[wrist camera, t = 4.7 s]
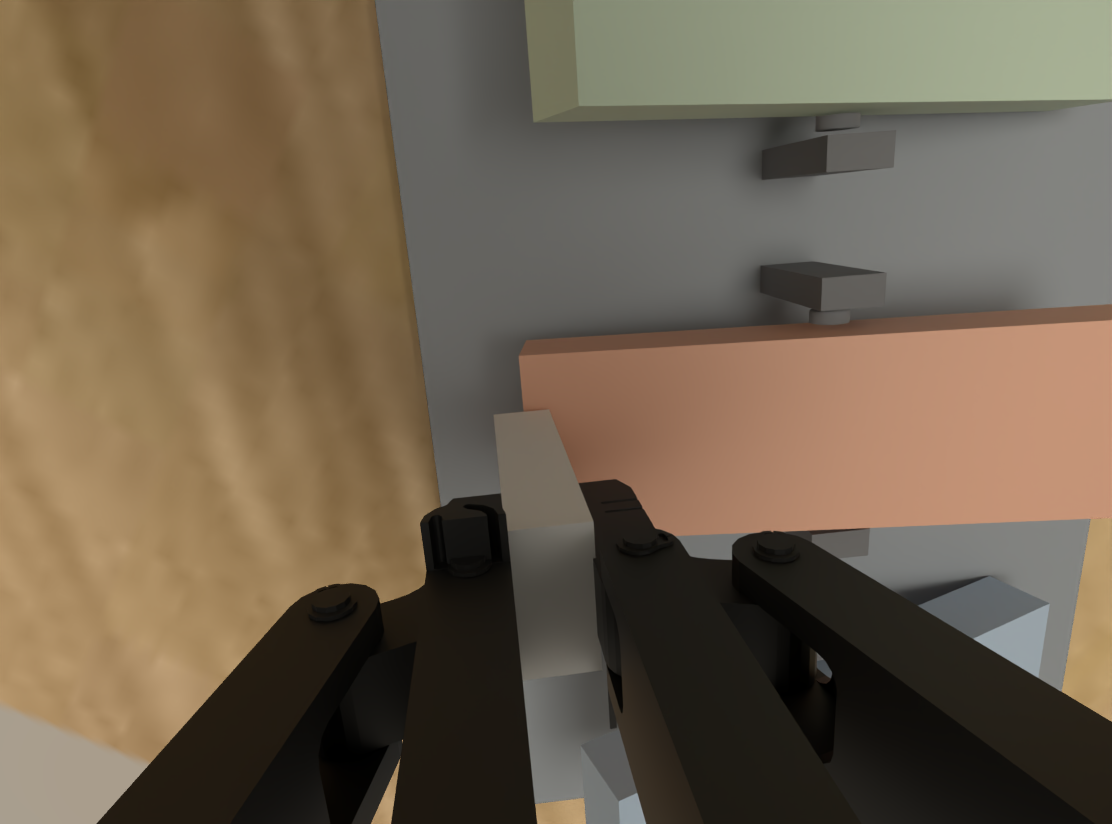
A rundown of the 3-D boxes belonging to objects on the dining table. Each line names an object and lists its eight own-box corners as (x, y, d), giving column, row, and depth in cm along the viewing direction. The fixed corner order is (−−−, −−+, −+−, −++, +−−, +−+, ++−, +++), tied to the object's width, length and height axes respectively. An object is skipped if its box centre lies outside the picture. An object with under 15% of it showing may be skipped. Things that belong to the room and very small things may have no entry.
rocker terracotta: (527, 326, 19) (517, 343, 16) (1138, 287, 18) (1222, 300, 15) (542, 511, 20) (536, 551, 18) (1103, 486, 19) (1175, 526, 17)
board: (361, -151, 18) (307, -294, 13) (1168, -186, 19) (1410, -329, 14) (481, 784, 26) (477, 919, 21) (1030, 716, 27) (1148, 828, 22)
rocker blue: (571, 722, 18) (617, 791, 16) (976, 562, 24) (1051, 595, 22) (583, 883, 20) (627, 965, 17) (960, 694, 26) (1029, 737, 24)
